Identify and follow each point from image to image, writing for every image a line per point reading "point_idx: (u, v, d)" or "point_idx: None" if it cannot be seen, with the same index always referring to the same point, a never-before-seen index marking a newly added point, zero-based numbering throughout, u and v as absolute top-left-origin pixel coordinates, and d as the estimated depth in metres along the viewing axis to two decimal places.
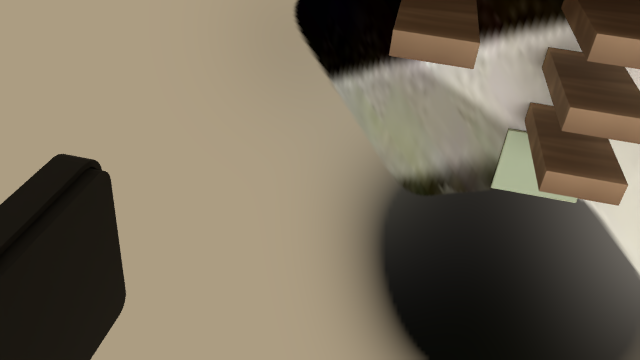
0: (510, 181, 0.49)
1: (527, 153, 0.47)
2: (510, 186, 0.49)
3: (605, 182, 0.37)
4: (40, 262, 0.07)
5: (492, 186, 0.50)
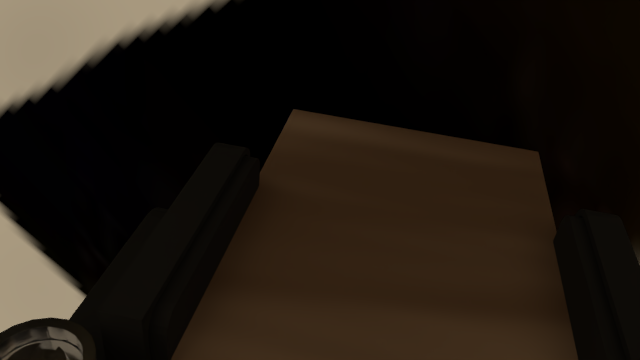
0: None
1: None
2: None
3: None
4: (222, 239, 0.08)
5: None
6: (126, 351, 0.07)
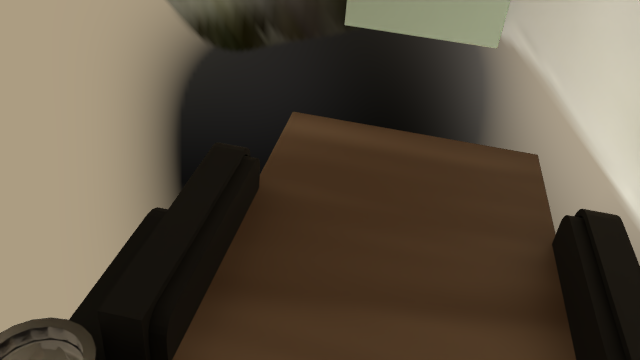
0: (376, 10, 0.26)
1: None
2: (377, 20, 0.27)
3: None
4: (222, 240, 0.08)
5: (346, 22, 0.27)
6: (126, 351, 0.07)
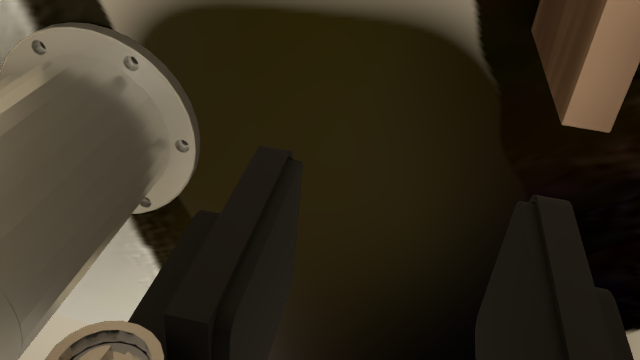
0: None
1: None
2: None
3: None
4: (273, 242, 0.08)
5: None
6: (189, 354, 0.07)
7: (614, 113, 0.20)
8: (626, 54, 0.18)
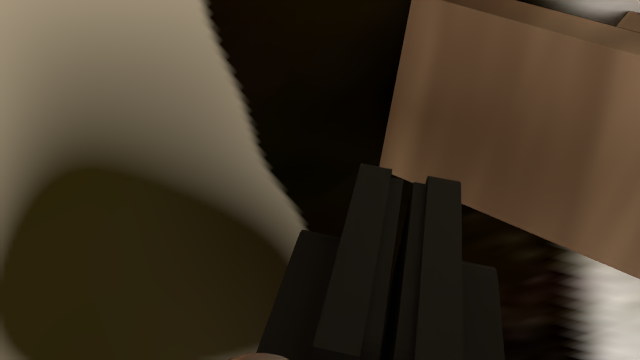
0: None
1: None
2: None
3: None
4: None
5: None
6: None
7: None
8: None
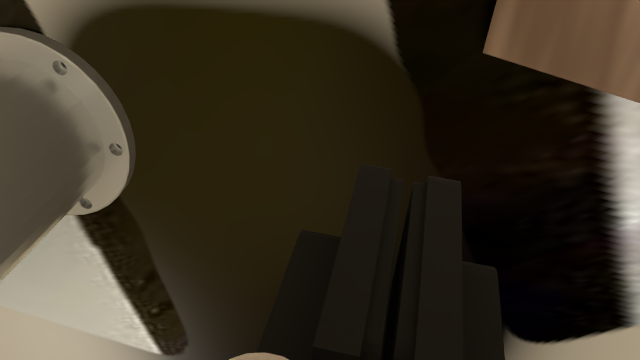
0: None
1: None
2: None
3: None
4: None
5: None
6: None
7: None
8: None
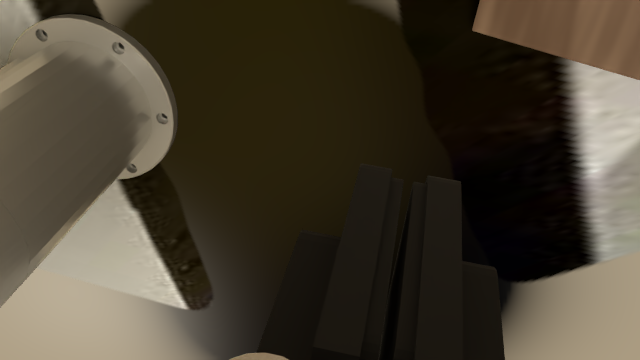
0: None
1: None
2: None
3: None
4: None
5: None
6: None
7: None
8: None
